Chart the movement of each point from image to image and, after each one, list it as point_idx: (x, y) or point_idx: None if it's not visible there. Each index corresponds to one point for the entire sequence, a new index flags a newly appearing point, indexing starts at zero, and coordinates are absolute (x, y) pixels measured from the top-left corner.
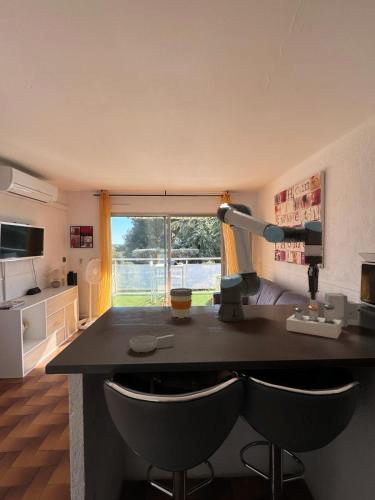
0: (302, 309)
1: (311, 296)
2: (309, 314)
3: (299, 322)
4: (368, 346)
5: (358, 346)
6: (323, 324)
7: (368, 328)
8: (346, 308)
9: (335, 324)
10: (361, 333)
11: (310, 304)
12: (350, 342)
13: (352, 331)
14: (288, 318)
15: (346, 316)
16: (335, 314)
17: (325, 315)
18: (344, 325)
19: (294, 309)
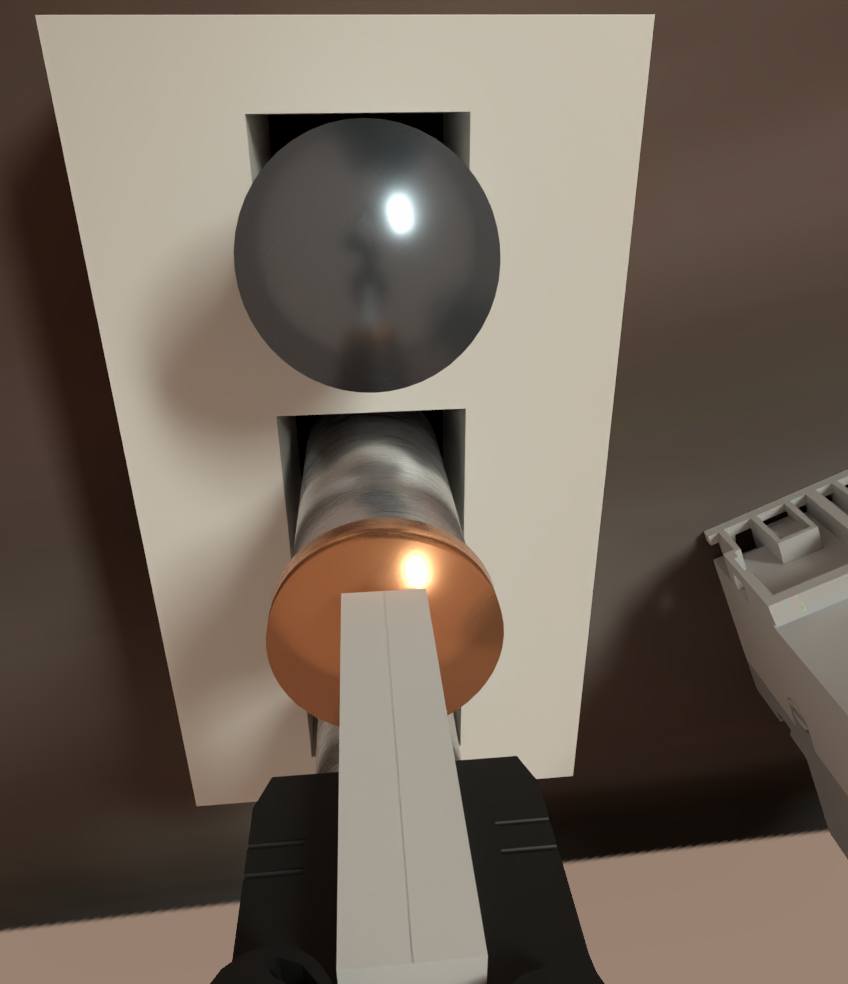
0: (326, 375)
1: (249, 882)
2: (327, 488)
3: (102, 315)
4: (174, 900)
5: (110, 855)
6: (185, 669)
7: (784, 824)
8: None
9: (299, 771)
10: (563, 811)
11: (344, 630)
12: (181, 796)
13: (596, 748)
14: (165, 27)
15: (826, 780)
16: (809, 700)
17: (333, 740)
18: (757, 677)
19: (271, 160)
